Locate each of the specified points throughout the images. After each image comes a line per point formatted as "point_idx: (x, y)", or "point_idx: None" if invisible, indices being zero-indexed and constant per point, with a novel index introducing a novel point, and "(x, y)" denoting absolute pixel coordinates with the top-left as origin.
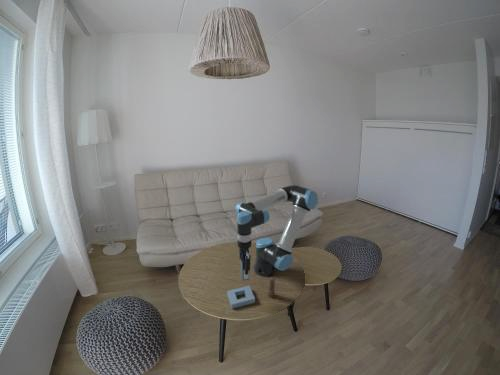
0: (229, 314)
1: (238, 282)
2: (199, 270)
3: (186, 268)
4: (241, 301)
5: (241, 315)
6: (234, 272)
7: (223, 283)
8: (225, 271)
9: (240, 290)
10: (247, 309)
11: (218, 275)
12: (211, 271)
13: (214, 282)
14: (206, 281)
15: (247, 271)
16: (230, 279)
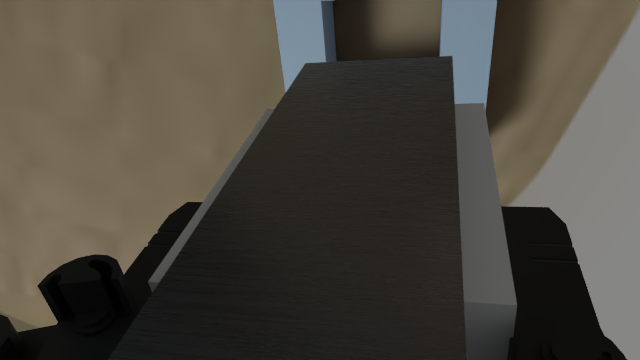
0: (525, 173)
1: (155, 7)
2: (27, 261)
3: (18, 317)
4: (482, 75)
5: (592, 83)
6: (13, 14)
7: (163, 141)
8: (11, 94)
9: (318, 45)
10: (550, 6)
11: (68, 158)
12: (27, 195)
13: (149, 200)
14: (137, 244)
15: (585, 311)
16: (113, 74)
